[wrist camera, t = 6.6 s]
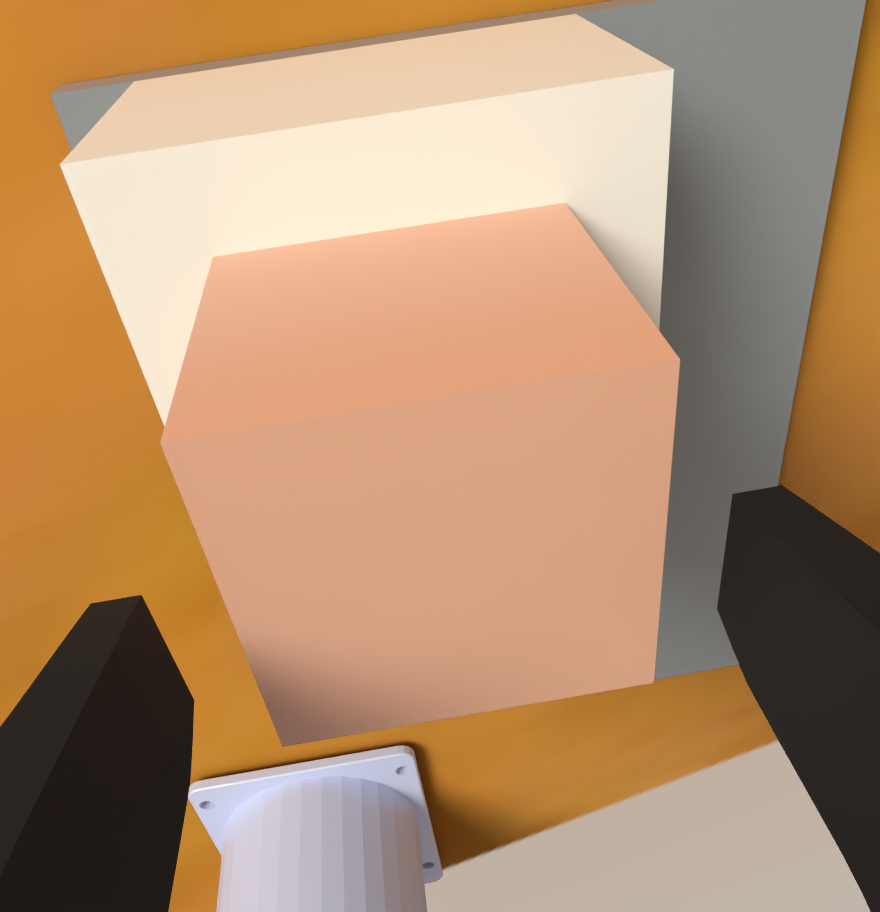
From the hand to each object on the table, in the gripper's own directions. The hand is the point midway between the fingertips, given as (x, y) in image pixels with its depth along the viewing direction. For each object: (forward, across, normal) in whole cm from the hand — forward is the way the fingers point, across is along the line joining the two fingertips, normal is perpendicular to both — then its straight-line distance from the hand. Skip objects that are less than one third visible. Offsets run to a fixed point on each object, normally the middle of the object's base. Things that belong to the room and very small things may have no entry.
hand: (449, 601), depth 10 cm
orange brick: (+4, 0, -1) cm, 4 cm away
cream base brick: (+9, 0, -1) cm, 9 cm away
